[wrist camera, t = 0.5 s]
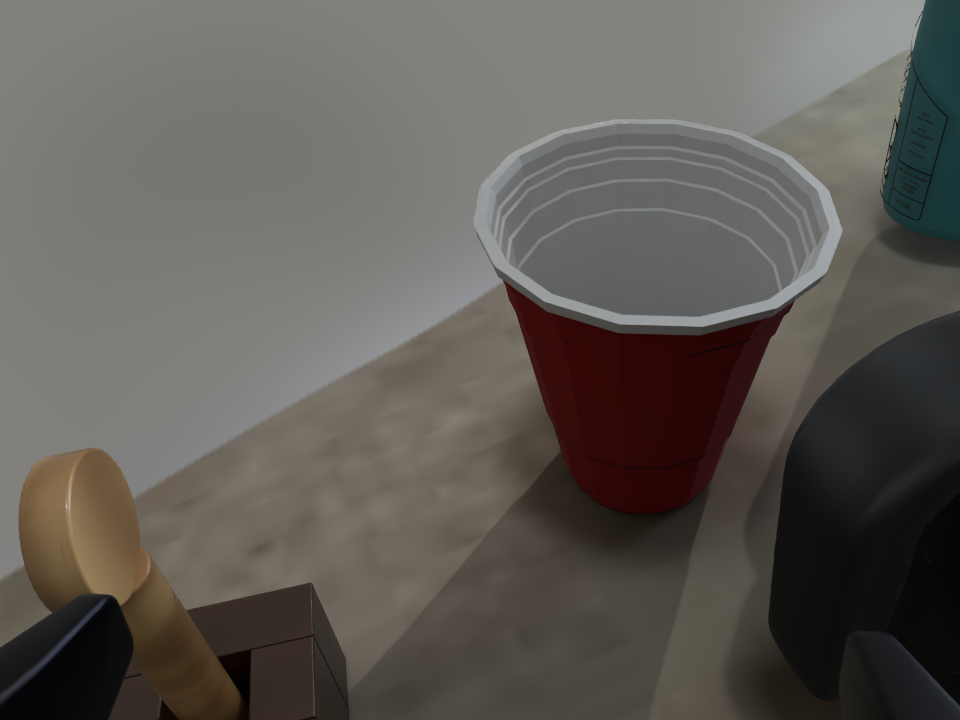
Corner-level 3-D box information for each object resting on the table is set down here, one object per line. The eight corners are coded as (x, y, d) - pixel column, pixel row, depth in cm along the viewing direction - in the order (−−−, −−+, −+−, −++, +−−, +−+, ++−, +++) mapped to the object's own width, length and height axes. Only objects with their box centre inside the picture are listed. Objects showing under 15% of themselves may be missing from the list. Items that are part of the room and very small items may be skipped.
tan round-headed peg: (280, 820, 24) (71, 539, 15) (225, 833, 24) (-18, 558, 15) (280, 709, 27) (102, 411, 17) (231, 720, 26) (26, 427, 17)
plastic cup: (701, 636, 27) (733, 363, 19) (453, 488, 32) (398, 232, 25) (837, 432, 32) (907, 156, 24) (606, 337, 38) (601, 89, 30)
